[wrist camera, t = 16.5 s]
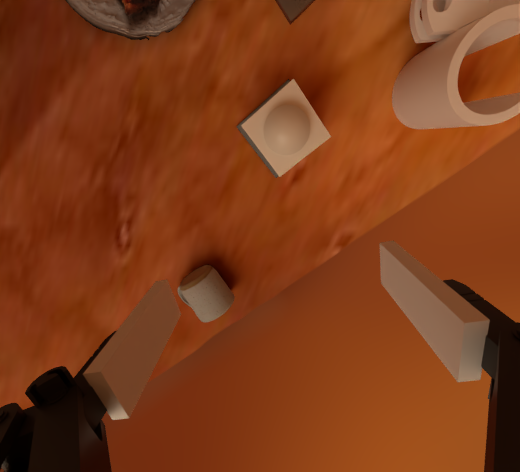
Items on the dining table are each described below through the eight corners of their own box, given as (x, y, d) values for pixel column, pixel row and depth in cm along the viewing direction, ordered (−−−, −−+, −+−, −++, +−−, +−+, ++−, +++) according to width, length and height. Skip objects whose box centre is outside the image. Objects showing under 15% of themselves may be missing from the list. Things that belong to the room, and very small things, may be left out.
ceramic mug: (214, 256, 47) (204, 278, 40) (237, 288, 49) (231, 314, 42) (171, 279, 49) (154, 304, 42) (195, 308, 52) (183, 336, 45)
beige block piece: (246, 128, 38) (240, 125, 30) (288, 90, 36) (294, 76, 28) (277, 169, 40) (279, 178, 32) (318, 136, 38) (332, 136, 30)
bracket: (379, -79, 30) (447, -212, 18) (466, -112, 28) (596, -278, 17) (394, 137, 38) (446, 137, 27) (460, 119, 37) (544, 111, 26)
